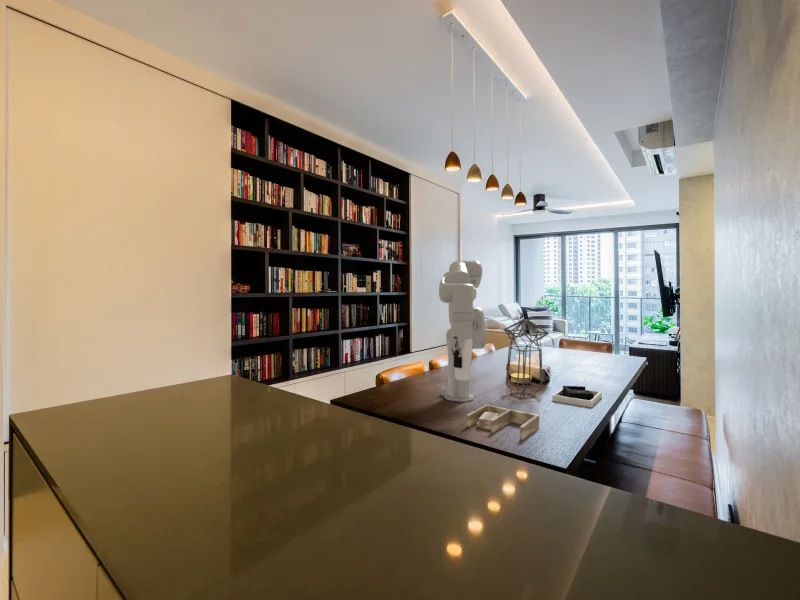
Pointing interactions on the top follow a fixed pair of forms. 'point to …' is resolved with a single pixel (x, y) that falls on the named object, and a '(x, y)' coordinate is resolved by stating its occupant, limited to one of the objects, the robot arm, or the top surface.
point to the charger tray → (575, 401)
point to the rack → (506, 419)
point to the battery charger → (577, 392)
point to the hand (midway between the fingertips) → (462, 365)
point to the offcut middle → (483, 426)
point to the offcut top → (487, 418)
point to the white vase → (465, 362)
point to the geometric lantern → (525, 353)
